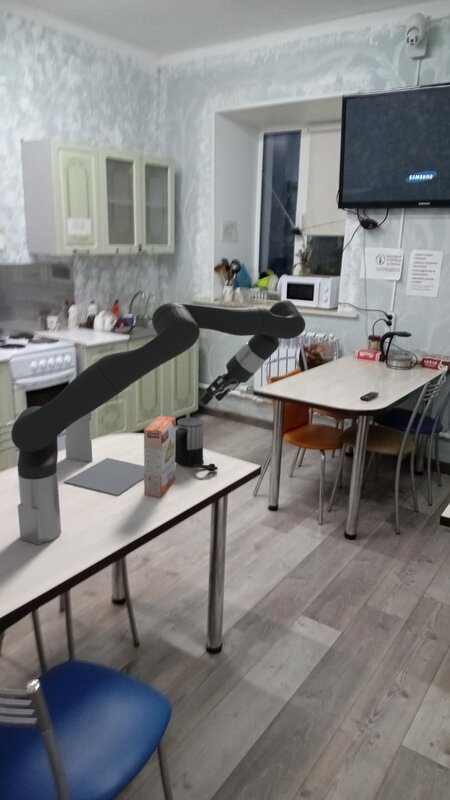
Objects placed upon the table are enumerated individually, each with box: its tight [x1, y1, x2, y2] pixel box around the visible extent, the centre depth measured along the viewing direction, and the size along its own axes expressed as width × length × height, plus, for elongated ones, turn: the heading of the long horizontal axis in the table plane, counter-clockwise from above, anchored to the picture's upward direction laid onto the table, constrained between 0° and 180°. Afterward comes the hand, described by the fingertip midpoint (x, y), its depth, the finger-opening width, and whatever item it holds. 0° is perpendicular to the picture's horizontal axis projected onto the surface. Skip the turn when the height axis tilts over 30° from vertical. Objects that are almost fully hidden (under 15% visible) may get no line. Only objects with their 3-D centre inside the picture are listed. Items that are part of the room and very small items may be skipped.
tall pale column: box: [64, 412, 93, 463], centre depth 190 cm, size 11×4×22 cm, turn 75°
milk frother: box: [175, 417, 219, 472], centre depth 188 cm, size 14×16×15 cm
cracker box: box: [143, 415, 177, 498], centre depth 170 cm, size 14×6×21 cm, turn 168°
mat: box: [63, 457, 144, 497], centre depth 181 cm, size 22×20×1 cm
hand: (210, 400), depth 162 cm, fingers open, 8 cm apart
